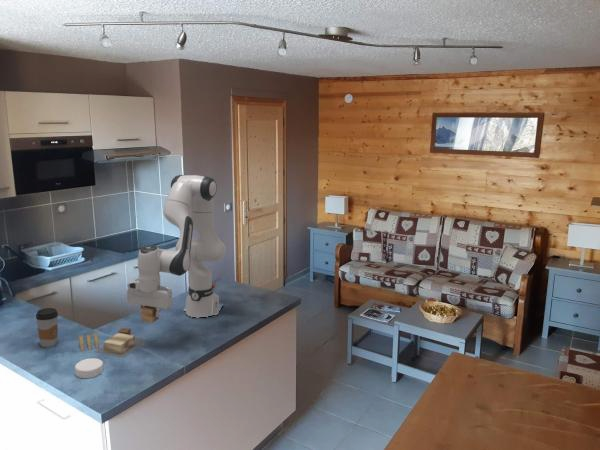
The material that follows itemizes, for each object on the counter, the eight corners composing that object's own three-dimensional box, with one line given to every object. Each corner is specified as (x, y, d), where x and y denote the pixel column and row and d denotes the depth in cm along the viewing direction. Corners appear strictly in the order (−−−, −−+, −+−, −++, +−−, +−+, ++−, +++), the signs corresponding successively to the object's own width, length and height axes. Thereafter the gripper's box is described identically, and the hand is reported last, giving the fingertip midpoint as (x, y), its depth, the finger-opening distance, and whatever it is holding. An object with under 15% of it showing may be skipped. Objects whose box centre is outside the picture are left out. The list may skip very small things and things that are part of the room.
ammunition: (78, 334, 208) (80, 342, 201) (97, 332, 212) (99, 339, 205) (79, 345, 209) (80, 353, 202) (97, 342, 213) (99, 350, 206)
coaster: (89, 381, 182) (88, 372, 181) (69, 375, 185) (68, 366, 185) (109, 369, 191) (108, 361, 190) (89, 363, 194) (89, 355, 194)
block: (122, 336, 218) (121, 327, 217) (130, 336, 218) (130, 328, 217) (118, 340, 214) (118, 331, 213) (127, 340, 214) (127, 332, 213)
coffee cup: (48, 350, 203) (46, 316, 200) (33, 346, 206) (30, 312, 203) (64, 342, 211) (62, 309, 208) (49, 338, 213) (47, 306, 210)
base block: (118, 341, 213) (118, 332, 212) (134, 344, 211) (134, 335, 210) (103, 351, 203) (103, 342, 202) (120, 354, 201) (120, 345, 200)
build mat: (121, 336, 219) (121, 334, 219) (148, 341, 216) (148, 339, 215) (94, 353, 202) (94, 352, 202) (123, 359, 199) (123, 357, 198)
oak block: (148, 316, 210) (148, 303, 209) (158, 318, 209) (158, 305, 208) (141, 321, 206) (141, 307, 204) (152, 323, 204) (151, 309, 203)
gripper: (175, 285, 204) (175, 316, 207) (133, 278, 210) (133, 309, 212) (167, 290, 198) (167, 321, 201) (123, 283, 204) (125, 314, 207)
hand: (150, 315), depth 207 cm, fingers closed on oak block, 5 cm apart
